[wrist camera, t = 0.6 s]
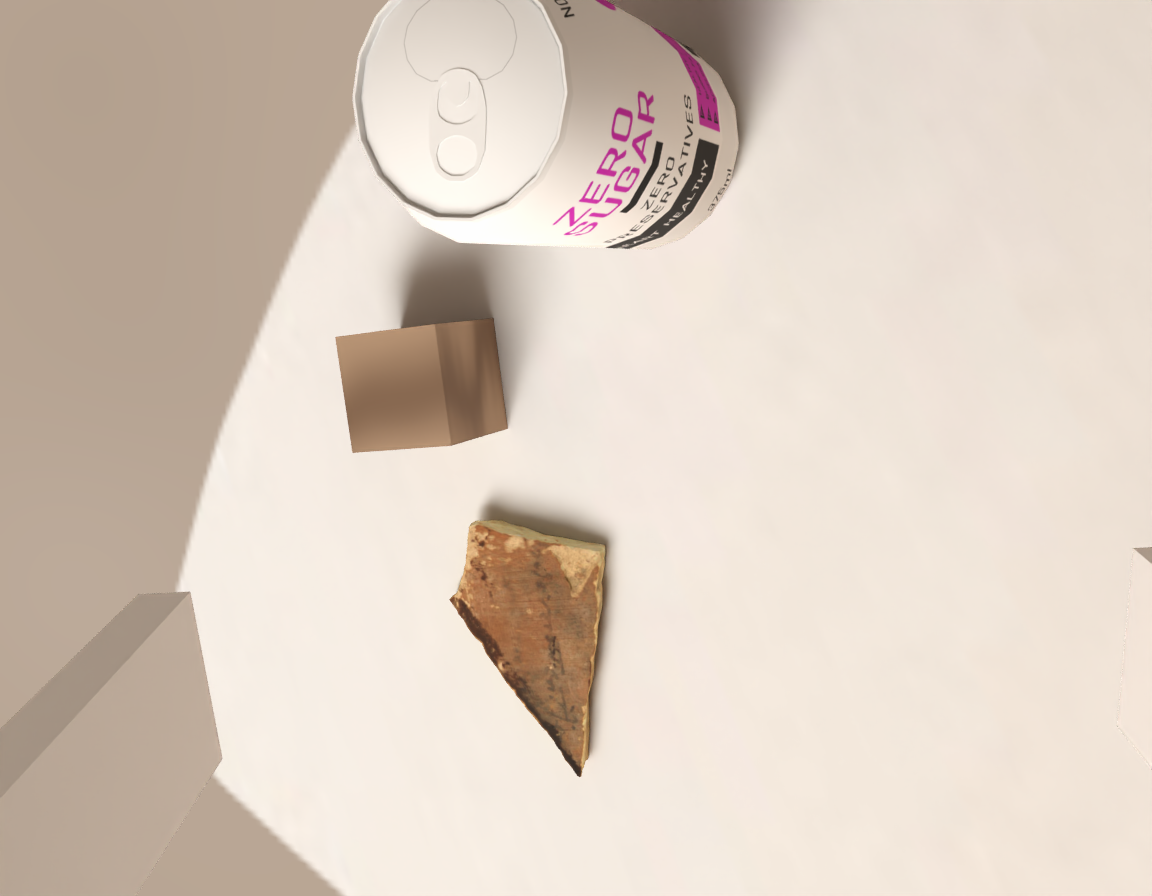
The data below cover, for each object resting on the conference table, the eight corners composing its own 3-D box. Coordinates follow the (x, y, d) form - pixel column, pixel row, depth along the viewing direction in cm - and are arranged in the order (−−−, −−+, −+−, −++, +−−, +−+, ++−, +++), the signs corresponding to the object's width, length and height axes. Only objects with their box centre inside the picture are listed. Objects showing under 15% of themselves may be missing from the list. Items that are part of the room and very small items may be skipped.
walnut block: (401, 330, 50) (335, 337, 45) (494, 318, 47) (434, 324, 43) (416, 435, 50) (352, 452, 46) (508, 428, 48) (451, 445, 44)
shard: (593, 764, 49) (577, 781, 48) (453, 718, 52) (433, 733, 51) (619, 543, 47) (603, 553, 45) (470, 508, 50) (450, 516, 48)
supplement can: (557, 47, 44) (334, -48, 31) (751, 38, 41) (594, -73, 27) (551, 245, 46) (336, 238, 32) (737, 252, 42) (582, 247, 29)
